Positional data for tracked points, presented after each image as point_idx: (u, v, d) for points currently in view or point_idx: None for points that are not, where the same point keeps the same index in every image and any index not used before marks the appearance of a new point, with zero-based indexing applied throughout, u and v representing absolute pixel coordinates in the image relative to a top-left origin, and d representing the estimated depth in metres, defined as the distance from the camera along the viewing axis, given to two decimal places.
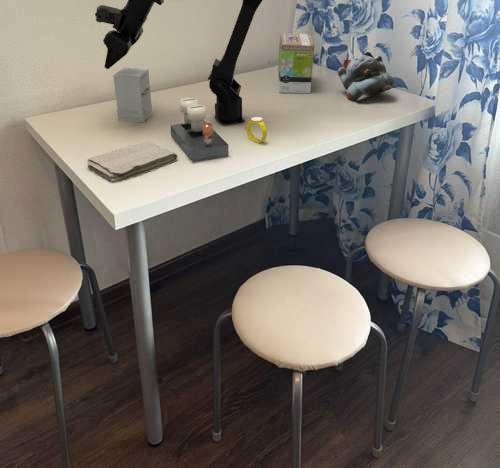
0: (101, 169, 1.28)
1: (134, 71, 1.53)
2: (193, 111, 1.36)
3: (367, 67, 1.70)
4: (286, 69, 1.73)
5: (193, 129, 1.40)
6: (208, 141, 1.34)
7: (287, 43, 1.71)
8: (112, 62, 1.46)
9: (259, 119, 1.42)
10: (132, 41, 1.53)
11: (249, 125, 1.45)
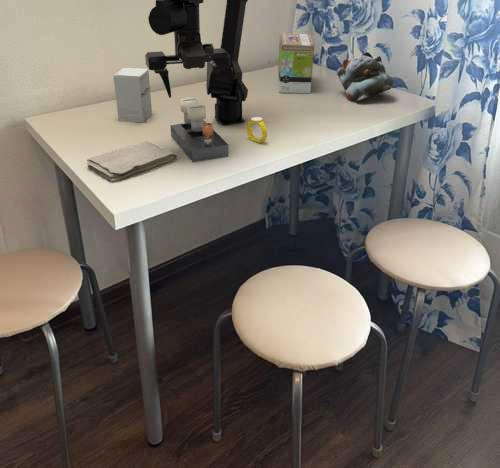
0: (101, 169, 1.28)
1: (134, 71, 1.53)
2: (193, 111, 1.36)
3: (366, 67, 1.70)
4: (286, 69, 1.73)
5: (193, 129, 1.40)
6: (208, 141, 1.34)
7: (287, 43, 1.71)
8: None
9: (259, 119, 1.42)
10: None
11: (249, 125, 1.45)
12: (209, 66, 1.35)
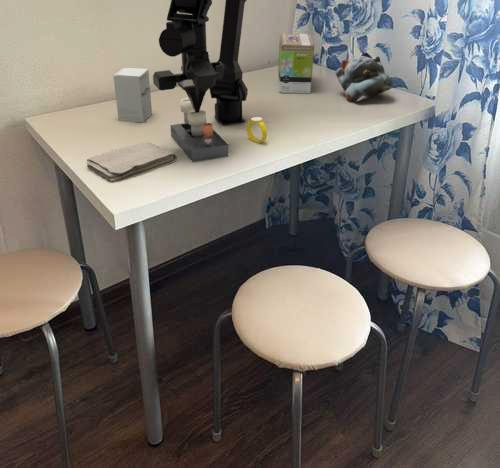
0: (100, 169, 1.28)
1: (134, 71, 1.53)
2: (193, 116, 1.37)
3: (365, 67, 1.70)
4: (286, 69, 1.73)
5: (193, 134, 1.40)
6: (208, 141, 1.34)
7: (287, 43, 1.71)
8: None
9: (259, 119, 1.42)
10: None
11: (249, 125, 1.45)
12: None
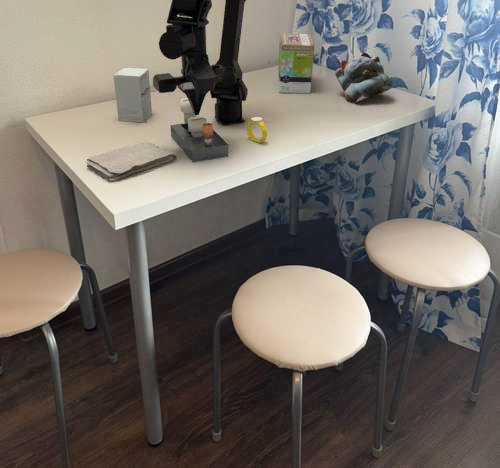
0: (100, 169, 1.28)
1: (134, 71, 1.53)
2: (193, 123, 1.38)
3: (365, 68, 1.69)
4: (286, 69, 1.73)
5: None
6: (208, 141, 1.34)
7: (287, 43, 1.71)
8: None
9: (259, 119, 1.42)
10: None
11: (249, 125, 1.45)
12: None
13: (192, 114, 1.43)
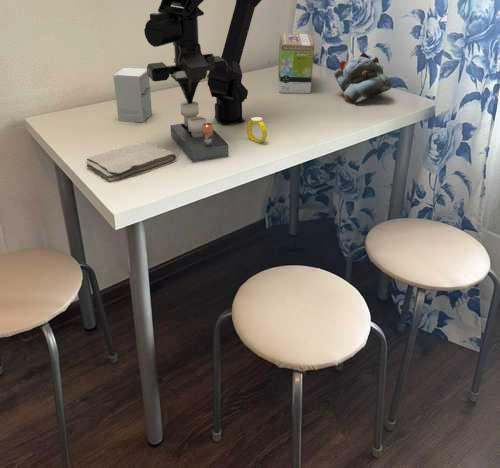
0: (99, 168, 1.28)
1: (134, 71, 1.53)
2: (193, 123, 1.38)
3: (364, 68, 1.69)
4: (286, 69, 1.73)
5: None
6: (208, 141, 1.34)
7: (287, 43, 1.71)
8: None
9: (259, 119, 1.42)
10: None
11: (249, 125, 1.45)
12: None
13: None
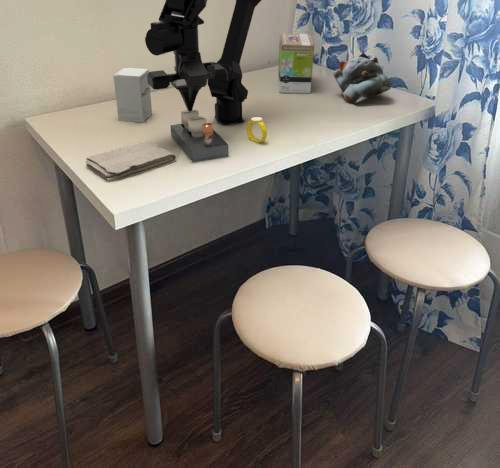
0: (98, 168, 1.28)
1: (134, 71, 1.53)
2: (193, 123, 1.38)
3: (363, 68, 1.69)
4: (286, 69, 1.73)
5: None
6: (208, 141, 1.34)
7: (287, 43, 1.71)
8: None
9: (259, 119, 1.42)
10: None
11: (249, 125, 1.45)
12: None
13: None
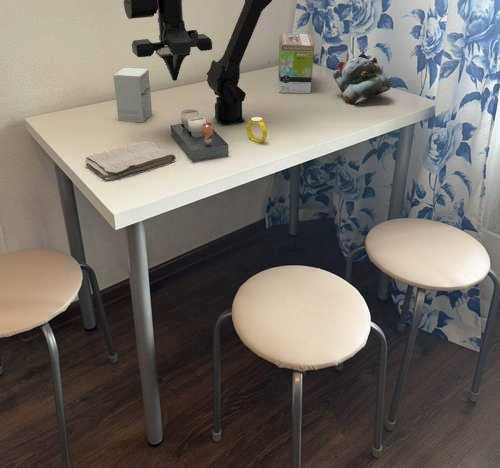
0: (97, 167, 1.28)
1: (134, 71, 1.53)
2: (193, 123, 1.38)
3: (363, 69, 1.68)
4: (286, 69, 1.73)
5: None
6: (208, 141, 1.34)
7: (287, 43, 1.71)
8: None
9: (259, 119, 1.42)
10: None
11: (249, 125, 1.45)
12: None
13: None
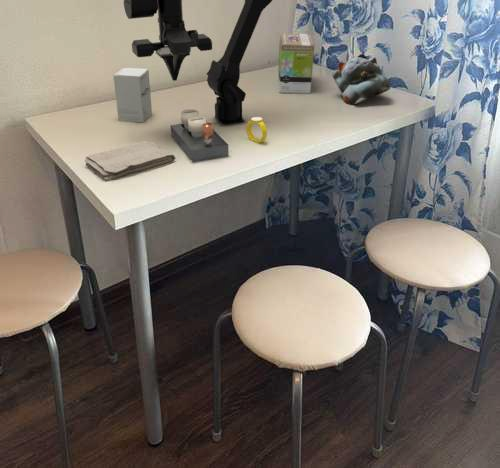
0: (96, 167, 1.29)
1: (134, 71, 1.53)
2: (193, 123, 1.38)
3: (362, 69, 1.68)
4: (286, 69, 1.73)
5: None
6: (208, 141, 1.34)
7: (287, 43, 1.71)
8: None
9: (259, 119, 1.42)
10: None
11: (249, 125, 1.45)
12: None
13: None
